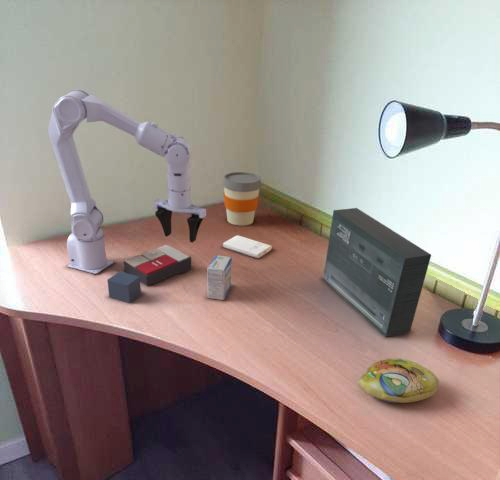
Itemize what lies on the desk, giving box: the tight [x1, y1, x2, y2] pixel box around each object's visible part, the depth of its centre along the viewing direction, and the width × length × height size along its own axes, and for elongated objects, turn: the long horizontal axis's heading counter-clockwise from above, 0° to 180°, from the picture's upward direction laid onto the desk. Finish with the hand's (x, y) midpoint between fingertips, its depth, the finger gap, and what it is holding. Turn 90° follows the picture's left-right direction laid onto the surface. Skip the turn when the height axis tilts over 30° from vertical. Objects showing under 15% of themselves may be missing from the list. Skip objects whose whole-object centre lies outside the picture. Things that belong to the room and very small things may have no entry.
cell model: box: [357, 357, 440, 404], centre depth 96 cm, size 11×8×15 cm
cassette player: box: [322, 207, 432, 338], centre depth 120 cm, size 29×7×20 cm, turn 23°
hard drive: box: [222, 234, 273, 259], centre depth 150 cm, size 2×8×12 cm
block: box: [106, 270, 142, 304], centre depth 121 cm, size 6×5×5 cm
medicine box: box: [206, 254, 233, 301], centre depth 124 cm, size 8×4×9 cm, turn 168°
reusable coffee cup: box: [222, 171, 262, 227], centre depth 165 cm, size 13×13×15 cm
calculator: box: [122, 244, 193, 287], centre depth 134 cm, size 11×4×15 cm
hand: (180, 238), depth 132 cm, fingers open, 7 cm apart
